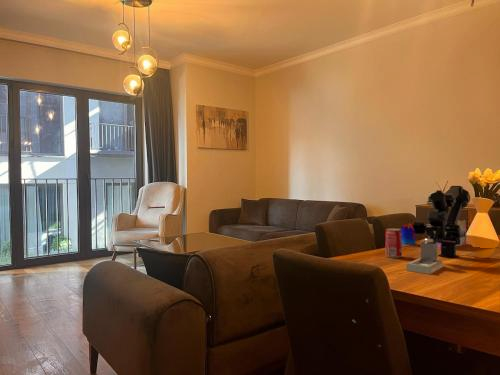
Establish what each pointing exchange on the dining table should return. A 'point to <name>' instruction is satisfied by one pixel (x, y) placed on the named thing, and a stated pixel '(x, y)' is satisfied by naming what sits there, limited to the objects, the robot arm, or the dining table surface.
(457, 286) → the dining table surface
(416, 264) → the rail
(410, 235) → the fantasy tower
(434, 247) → the gray block silver cap
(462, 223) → the gum box
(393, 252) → the soda can
